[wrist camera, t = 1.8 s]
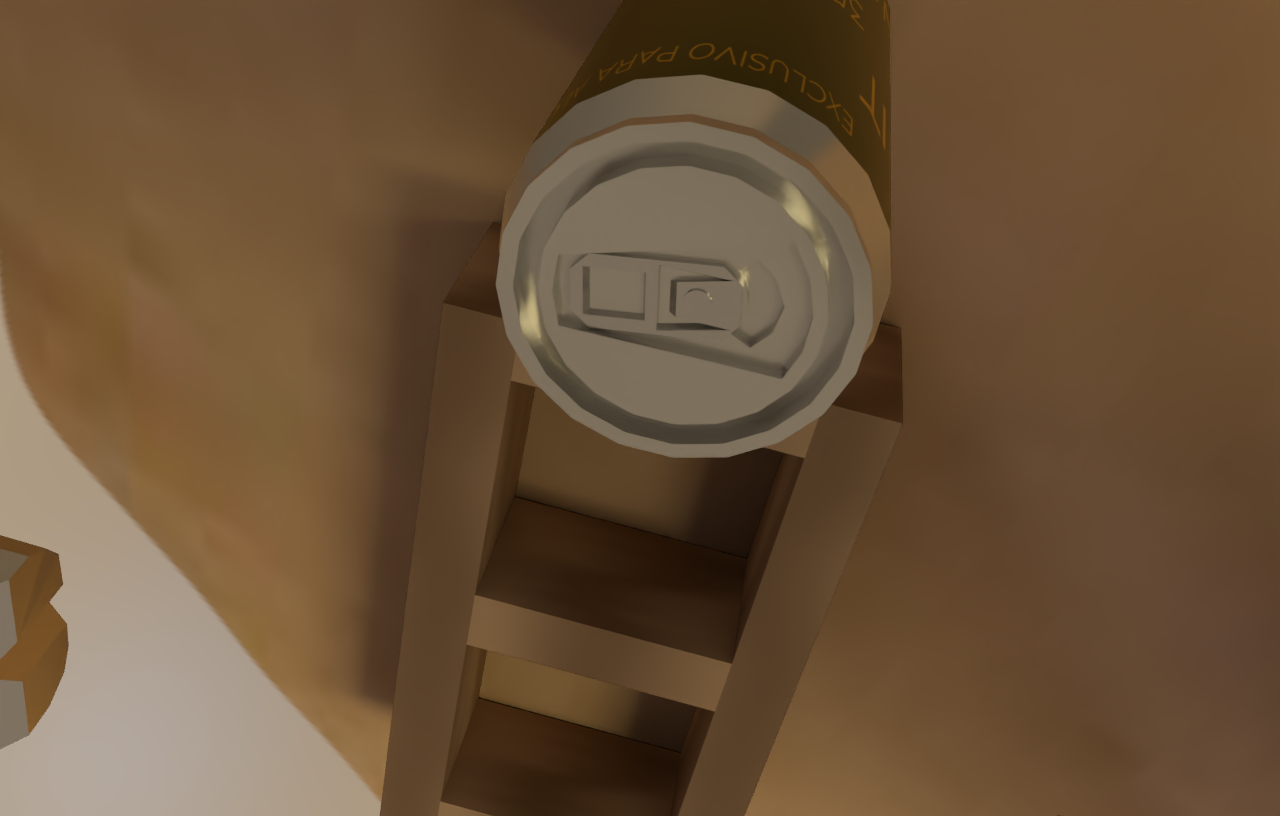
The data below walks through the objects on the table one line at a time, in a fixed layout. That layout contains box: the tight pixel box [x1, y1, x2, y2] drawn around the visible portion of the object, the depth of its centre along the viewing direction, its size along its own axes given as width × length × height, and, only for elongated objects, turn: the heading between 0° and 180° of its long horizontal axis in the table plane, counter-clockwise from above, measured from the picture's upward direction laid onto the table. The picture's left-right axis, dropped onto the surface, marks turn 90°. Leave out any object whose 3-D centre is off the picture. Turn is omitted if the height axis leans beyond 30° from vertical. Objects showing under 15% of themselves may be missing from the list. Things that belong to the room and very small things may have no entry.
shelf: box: [380, 222, 903, 816], centre depth 33 cm, size 10×18×4 cm, turn 169°
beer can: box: [496, 0, 891, 458], centre depth 21 cm, size 5×5×12 cm
